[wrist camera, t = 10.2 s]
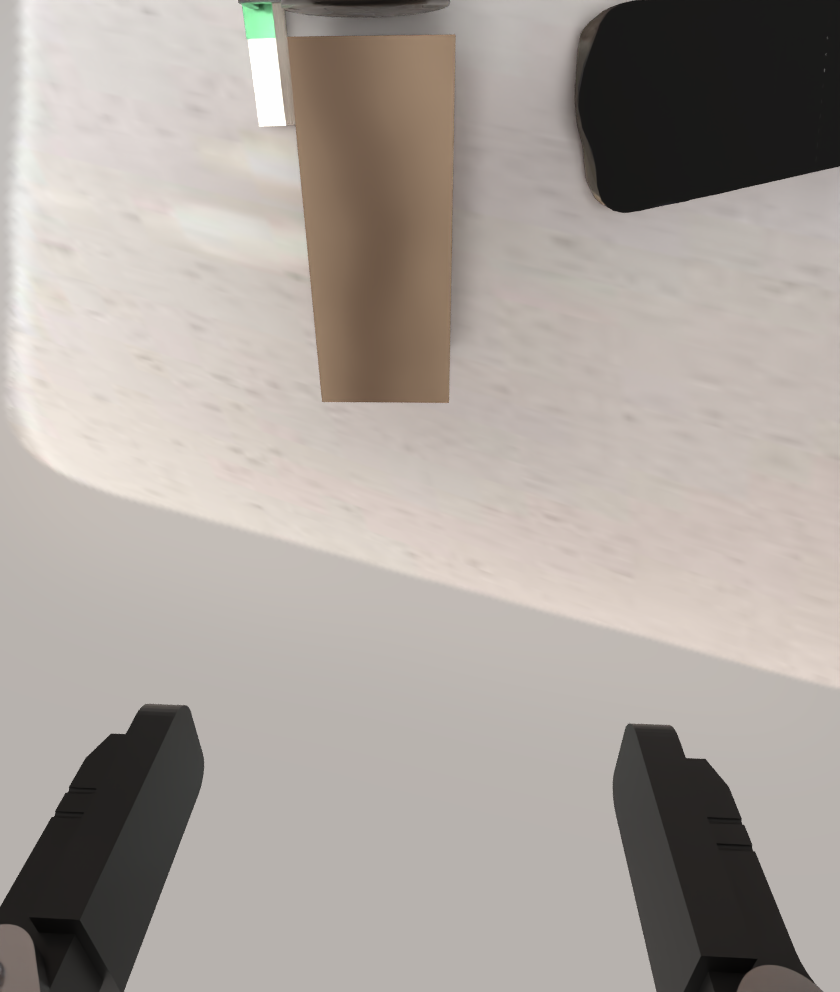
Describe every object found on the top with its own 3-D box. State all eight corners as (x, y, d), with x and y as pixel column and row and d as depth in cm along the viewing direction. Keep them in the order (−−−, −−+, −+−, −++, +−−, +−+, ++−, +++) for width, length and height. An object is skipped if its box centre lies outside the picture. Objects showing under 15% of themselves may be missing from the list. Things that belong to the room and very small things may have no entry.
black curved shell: (957, -85, 26) (1026, -112, 23) (918, 143, 30) (972, 147, 27) (561, 22, 28) (575, 11, 25) (577, 219, 33) (591, 231, 30)
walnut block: (453, 52, 29) (455, 34, 22) (448, 347, 36) (448, 402, 29) (324, 53, 29) (286, 36, 22) (345, 347, 36) (322, 401, 30)
